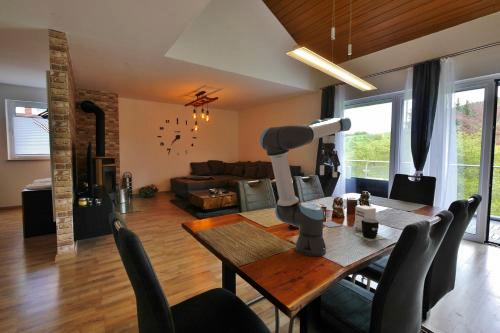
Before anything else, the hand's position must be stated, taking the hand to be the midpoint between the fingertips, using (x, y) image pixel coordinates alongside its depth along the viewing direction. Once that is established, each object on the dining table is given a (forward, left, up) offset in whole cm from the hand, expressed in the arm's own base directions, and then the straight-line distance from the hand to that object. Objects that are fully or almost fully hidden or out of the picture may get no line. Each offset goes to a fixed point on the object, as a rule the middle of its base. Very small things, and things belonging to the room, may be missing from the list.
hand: (328, 176), depth 152 cm
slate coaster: (+8, +7, -35) cm, 36 cm away
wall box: (+25, -6, -35) cm, 43 cm away
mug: (+16, -21, -34) cm, 43 cm away
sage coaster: (+16, -19, -35) cm, 43 cm away
